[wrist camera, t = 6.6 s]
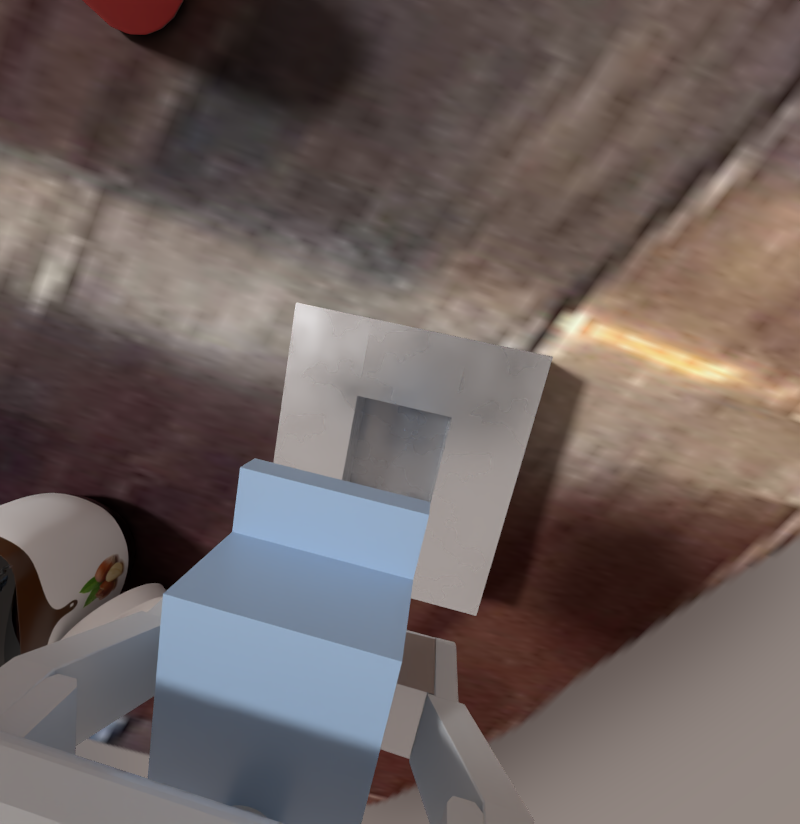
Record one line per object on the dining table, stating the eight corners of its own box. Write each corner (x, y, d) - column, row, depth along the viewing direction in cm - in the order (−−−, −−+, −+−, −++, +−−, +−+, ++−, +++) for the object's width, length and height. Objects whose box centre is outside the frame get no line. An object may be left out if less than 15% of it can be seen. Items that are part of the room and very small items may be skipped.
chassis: (537, 354, 22) (552, 357, 19) (472, 582, 26) (476, 615, 22) (316, 307, 23) (295, 302, 20) (282, 531, 27) (260, 557, 24)
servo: (433, 465, 10) (419, 618, 5) (372, 718, 12) (308, 1049, 6) (297, 432, 11) (126, 537, 5) (257, 684, 12) (101, 971, 7)
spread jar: (49, 472, 28) (-215, 561, 17) (186, 502, 27) (1, 618, 16) (55, 605, 31) (-173, 759, 20) (180, 637, 30) (16, 820, 19)
